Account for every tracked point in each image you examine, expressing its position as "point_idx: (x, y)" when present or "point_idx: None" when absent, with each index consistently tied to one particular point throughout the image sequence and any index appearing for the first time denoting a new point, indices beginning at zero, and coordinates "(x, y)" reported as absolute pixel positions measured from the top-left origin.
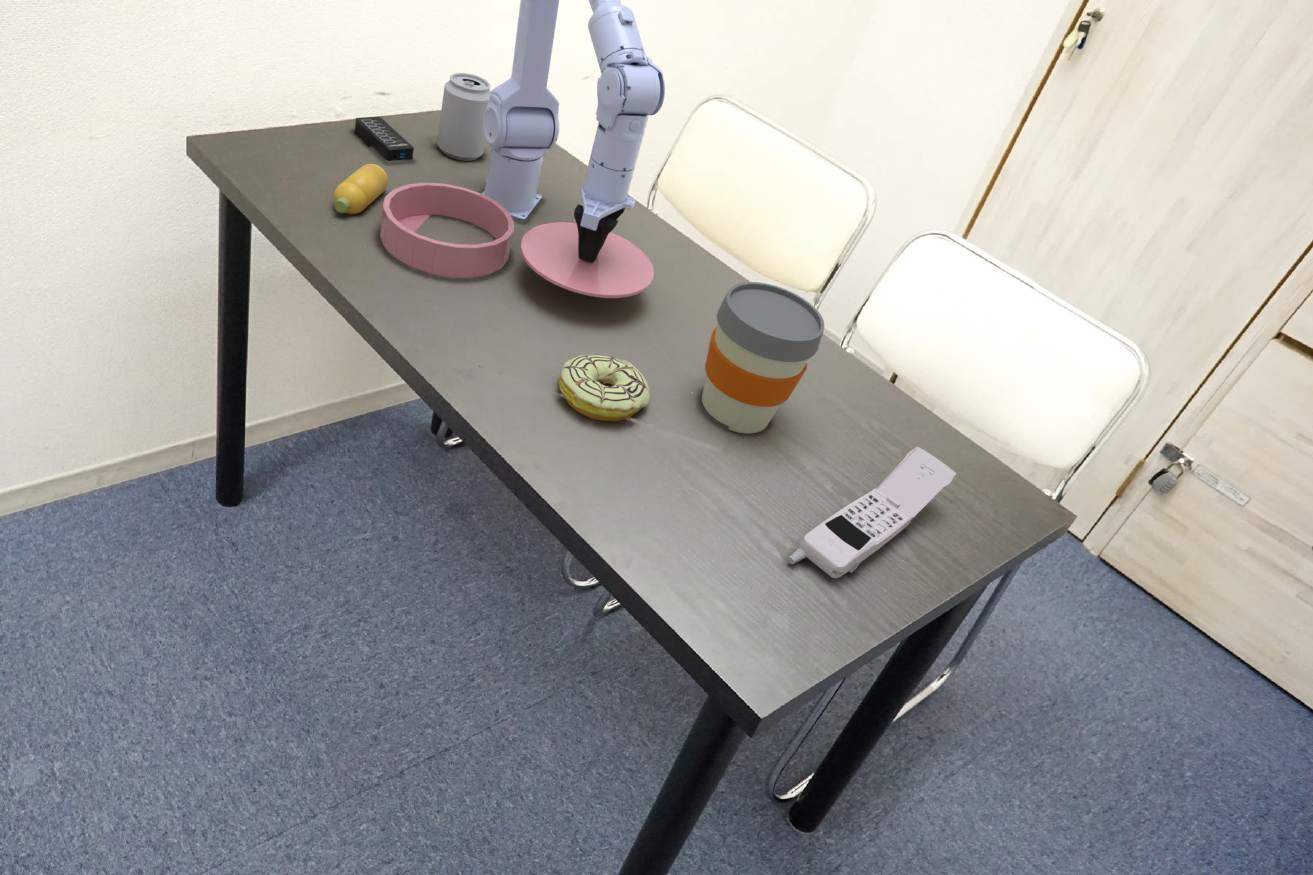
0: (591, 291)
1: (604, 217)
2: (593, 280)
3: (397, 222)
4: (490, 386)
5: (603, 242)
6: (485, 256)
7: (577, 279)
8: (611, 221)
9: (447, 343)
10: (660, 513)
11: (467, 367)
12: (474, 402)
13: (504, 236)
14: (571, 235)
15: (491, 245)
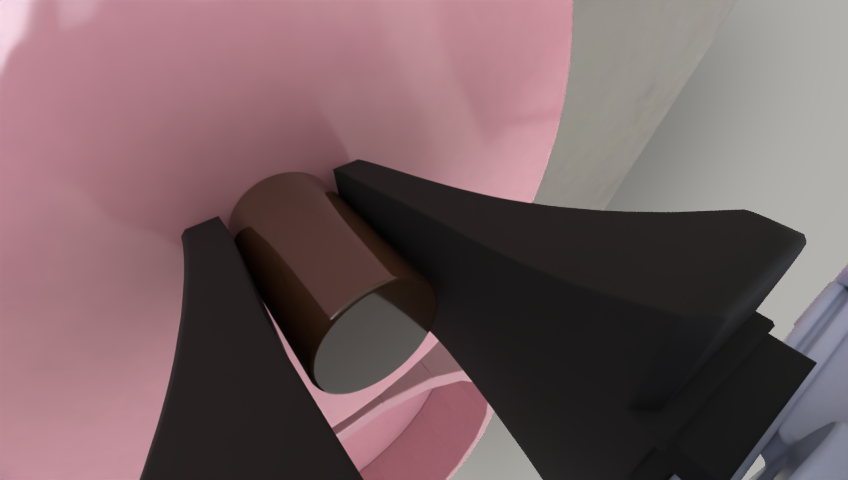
0: (563, 11)
1: (715, 384)
2: (482, 56)
3: (471, 448)
4: (667, 46)
5: (241, 259)
6: (432, 350)
7: (508, 116)
8: (738, 319)
9: (587, 175)
10: None
11: (631, 110)
12: (695, 42)
13: (379, 412)
14: (155, 416)
15: (442, 375)
